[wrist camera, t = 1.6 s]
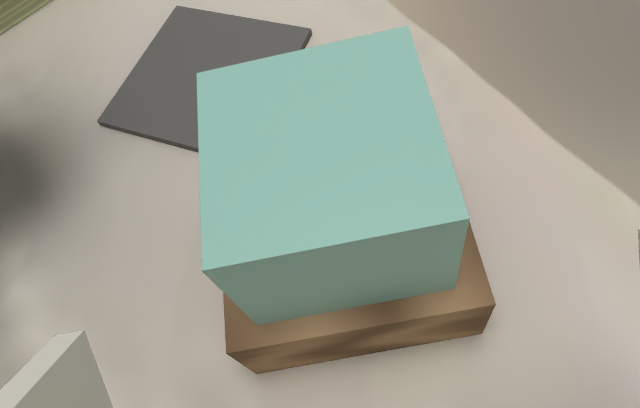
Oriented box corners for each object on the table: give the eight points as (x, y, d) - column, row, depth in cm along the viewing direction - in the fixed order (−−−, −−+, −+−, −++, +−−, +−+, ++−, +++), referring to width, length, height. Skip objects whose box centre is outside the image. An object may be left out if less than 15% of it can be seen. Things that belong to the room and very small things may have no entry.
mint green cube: (257, 325, 23) (201, 270, 17) (244, 162, 28) (196, 73, 22) (454, 288, 23) (469, 218, 17) (409, 127, 27) (408, 25, 21)
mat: (100, 125, 38) (97, 121, 37) (179, 10, 42) (176, 5, 42) (243, 164, 34) (241, 160, 33) (311, 33, 39) (310, 28, 38)
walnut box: (255, 373, 27) (210, 342, 21) (242, 196, 33) (203, 131, 27) (482, 333, 26) (502, 289, 20) (430, 158, 32) (434, 82, 26)
